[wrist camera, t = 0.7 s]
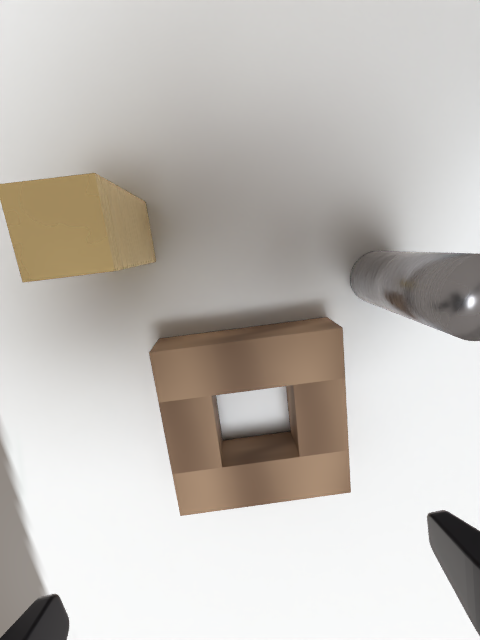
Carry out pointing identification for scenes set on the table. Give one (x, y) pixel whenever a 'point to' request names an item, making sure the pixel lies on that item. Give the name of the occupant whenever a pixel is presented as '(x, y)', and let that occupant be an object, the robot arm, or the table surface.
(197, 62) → the table surface
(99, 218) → the square bit
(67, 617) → the robot arm
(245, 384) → the bore block
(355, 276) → the cylinder
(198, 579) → the table surface
